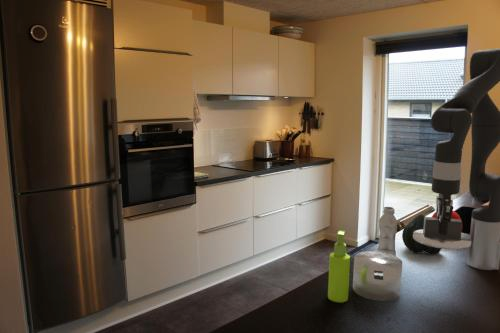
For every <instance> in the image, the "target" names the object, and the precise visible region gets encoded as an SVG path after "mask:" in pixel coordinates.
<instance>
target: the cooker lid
mask: <svg viewBox="0 0 500 333" xmlns="http://www.w3.org/2000/svg"><path fill="white" fill-rule="evenodd" d="M439 220H440V218H435V217H432V216H425V217H424V228H423V229H421V230H417V231H415V232H414V233H413V238H414V240H416V241H417V242H419V243H421V244H424V245H427V246H431V247H435V248H441V250H442V249H444V250H464V249H469V247H470V246H471V239H470V236H467V235H465V234H462V232H461V231H463V227H462V226H463V221H462V219H461V220H460V219H451V222H450V223H448V230H447V235H440V234H439V224H440V221H439Z"/></svg>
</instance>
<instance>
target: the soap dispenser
mask: <svg viewBox="0 0 500 333" xmlns="http://www.w3.org/2000/svg"><path fill="white" fill-rule="evenodd" d="M346 232H347V230H341V229H339V230H338V231H337V234H336V236H337V242H334V245H333V246H334V247H333V248H334V250H333V251H332V252H331V253H330V254H329V263H328V280H327V281H328V284H327V287H328V288H327V298H328V300H330V301H332V302H334V303H344V302H347V301H348V300H349V290H350V289H349V286H350V268H351V255H350V254H349V253H348V254H347V244H346V242H344V241H345V240H344V239H345V234H346Z"/></svg>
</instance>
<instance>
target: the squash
mask: <svg viewBox="0 0 500 333" xmlns="http://www.w3.org/2000/svg"><path fill="white" fill-rule="evenodd" d="M424 217H426V216H425V215H423V214H422V213H420V214H418V215H417V216H415V217H414V218H413V219H412V220H410V221H409V222H408V223H407V224H406V225H405V226H404V228H403V229H402V234H401V238H402V242H403V244H404V246H405V248H407V249H408V250H409V251H410V252H411V253H414V254H419V253H420V254H423V253H427V254H428V255H432V256H434V255H437V254H440V252H441V251H442V249H441V248H435V247H431V246H427V245H424V244H421V243H419V242H417V241H416V240H414V238H413V233H414V232H415V231H417V230H421V229H423V228H424Z"/></svg>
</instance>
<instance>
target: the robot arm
mask: <svg viewBox="0 0 500 333" xmlns="http://www.w3.org/2000/svg"><path fill="white" fill-rule="evenodd" d="M469 60H470V61H469V77H470V78H469V80H468V81H467V82H465V83H464V84H463V85H462V86H461V87H459V89H458V90H457V91H456V93H455V94H454V95H453V97H452V98H450V99H448V100H447V101H445V102H444V103H443V104H441V105H440V106H438V107H437V109H435V111H434V112H433V113H432V116H431V118H430V125H431V127H432V129H433V131H435V132H437V133H445V134H453V136H452V137H451V138H450V139H449V140H441V141H438V142H437V143H436V145H435V150H434V151H435V152H434V153H435V154H434V162H433V168H432V178H431V179H432V180H431V192H432V193H435V194H438V196H437V195H436V197H435V201H436V203H435V205H436V208H435V212H436V215H437V218H440V220H439V221H440V224H439V234H440V235H447V230H448V223H450V222H451V217H452V212H453V211H454V205H453V204H454V203H453V202H454V201H453V199H452V195H455V196H456V195H459V193H460V190H461V189H460V188H461V177H462V155H463V148H464V144H465V142H466V138H467V136H468V133H469V131H471V134H470V135H471V160H470V161H471V162H470V170H469V171H470V172H469V179H468V180H469V184H468V187H469V194H470V196H471V197H473V198H474V199H479V200H484V201H489V203H488V205H487V206H484V207H477V208H474V209H472V211H471V220H470V232H469V238H470V239H471V246H470V247H468V248H467V249H468V252H467V259H466V260H467V262H466V263H467V265H468V266H470V267H471V268H475V269H476V270H477V269H478V270H483V271H493V270H497V271H498V270H499V266H500V174H493V173H486V164H487V161H488V159H489V157H490V156H491V154H493V152H494V150H495V149H497V147H498V146H499V144H500V109H499V108H498V106H496V104H495V103H494V101H493V99H492V98H491V97H490V95H489V93H490V91H491V90H492V89H493V88H494V87H496V86H497V85H498V84H499V83H500V48H491V49H480V50H475V51H473V52H472V54H471V56H470V59H469ZM470 129H471V130H470Z"/></svg>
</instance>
